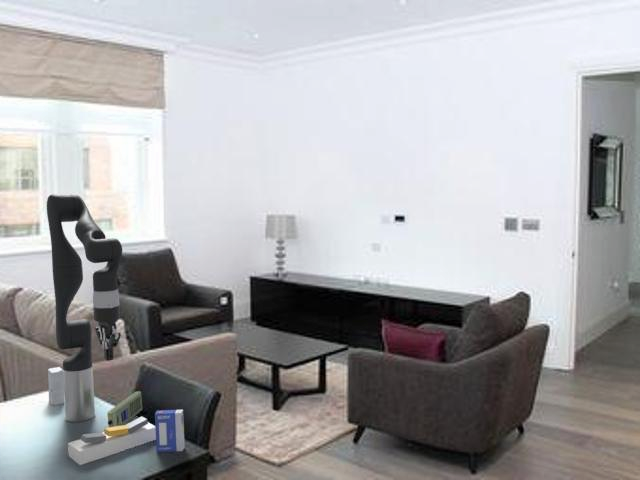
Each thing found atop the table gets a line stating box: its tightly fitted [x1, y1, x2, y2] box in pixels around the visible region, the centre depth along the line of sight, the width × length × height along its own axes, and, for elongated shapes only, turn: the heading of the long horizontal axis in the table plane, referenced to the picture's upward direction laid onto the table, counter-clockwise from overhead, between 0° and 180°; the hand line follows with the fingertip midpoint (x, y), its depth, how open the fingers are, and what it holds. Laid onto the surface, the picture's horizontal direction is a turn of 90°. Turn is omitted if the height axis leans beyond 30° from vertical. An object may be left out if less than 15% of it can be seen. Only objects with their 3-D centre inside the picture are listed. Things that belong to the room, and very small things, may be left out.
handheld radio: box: [107, 390, 144, 427], centre depth 205 cm, size 7×3×25 cm
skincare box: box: [47, 366, 65, 406], centre depth 225 cm, size 6×4×12 cm
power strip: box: [67, 422, 156, 466], centre depth 187 cm, size 8×24×4 cm, turn 134°
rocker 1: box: [103, 424, 128, 437], centre depth 186 cm, size 3×6×2 cm, turn 134°
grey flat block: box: [80, 432, 106, 443], centre depth 181 cm, size 3×6×2 cm, turn 134°
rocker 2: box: [124, 416, 149, 433], centre depth 190 cm, size 3×6×2 cm, turn 134°
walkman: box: [154, 409, 185, 453], centre depth 185 cm, size 8×3×12 cm, turn 94°
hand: (109, 359), depth 192 cm, fingers closed
